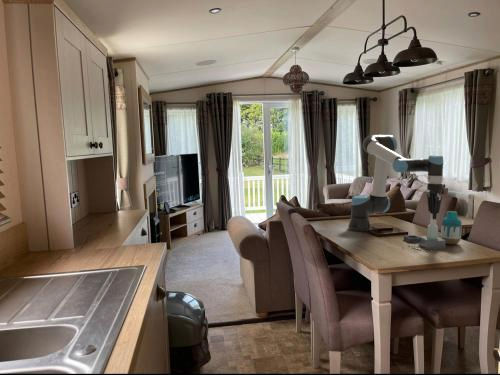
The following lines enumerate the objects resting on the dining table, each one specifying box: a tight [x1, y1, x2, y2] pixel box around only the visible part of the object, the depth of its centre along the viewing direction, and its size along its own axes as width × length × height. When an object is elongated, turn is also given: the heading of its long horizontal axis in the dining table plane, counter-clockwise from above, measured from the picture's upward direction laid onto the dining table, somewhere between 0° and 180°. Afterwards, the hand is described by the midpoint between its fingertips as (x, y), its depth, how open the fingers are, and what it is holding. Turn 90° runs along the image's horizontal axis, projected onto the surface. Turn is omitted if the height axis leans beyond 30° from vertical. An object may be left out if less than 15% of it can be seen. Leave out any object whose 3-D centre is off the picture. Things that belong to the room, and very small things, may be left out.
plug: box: [426, 223, 439, 240], centre depth 221 cm, size 4×4×13 cm
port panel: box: [418, 235, 446, 250], centre depth 222 cm, size 10×10×6 cm
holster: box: [403, 234, 420, 244], centre depth 236 cm, size 8×8×2 cm
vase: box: [440, 210, 463, 245], centre depth 227 cm, size 11×11×19 cm
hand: (433, 224), depth 220 cm, fingers closed
